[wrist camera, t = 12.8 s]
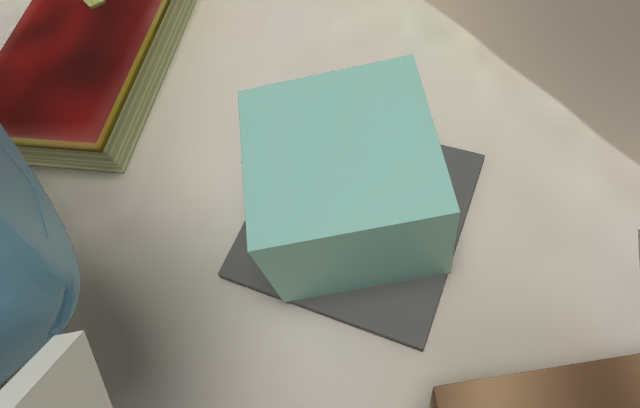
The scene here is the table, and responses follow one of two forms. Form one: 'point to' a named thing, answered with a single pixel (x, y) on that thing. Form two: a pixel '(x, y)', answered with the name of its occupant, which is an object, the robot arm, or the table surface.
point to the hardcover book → (86, 78)
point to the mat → (379, 301)
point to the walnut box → (551, 387)
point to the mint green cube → (345, 181)
